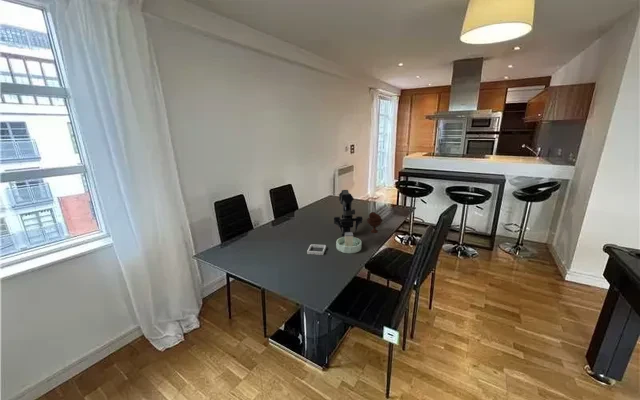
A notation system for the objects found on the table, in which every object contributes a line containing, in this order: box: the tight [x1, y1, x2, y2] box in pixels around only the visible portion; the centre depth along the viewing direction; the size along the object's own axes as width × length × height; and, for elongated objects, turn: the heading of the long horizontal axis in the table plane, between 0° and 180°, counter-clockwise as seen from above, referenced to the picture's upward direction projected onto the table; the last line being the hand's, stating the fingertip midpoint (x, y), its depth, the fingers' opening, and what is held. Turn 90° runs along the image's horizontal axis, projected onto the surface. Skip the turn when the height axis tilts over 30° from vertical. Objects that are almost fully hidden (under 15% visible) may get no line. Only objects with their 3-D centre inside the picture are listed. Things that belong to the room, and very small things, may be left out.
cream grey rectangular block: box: [344, 231, 354, 247], centre depth 170 cm, size 5×5×9 cm
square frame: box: [306, 244, 327, 256], centre depth 168 cm, size 10×10×2 cm
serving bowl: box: [335, 236, 362, 254], centre depth 171 cm, size 16×16×4 cm
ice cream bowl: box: [366, 211, 383, 234], centre depth 194 cm, size 11×11×15 cm
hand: (348, 232), depth 170 cm, fingers open, 9 cm apart
